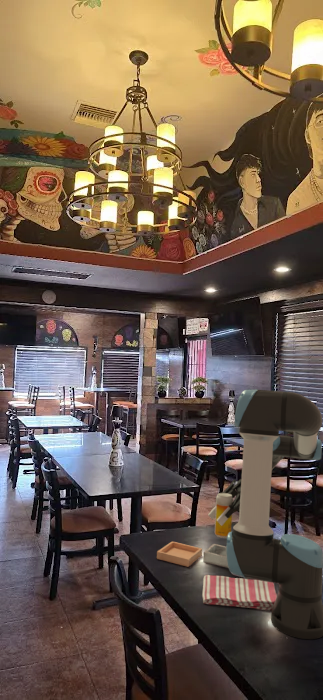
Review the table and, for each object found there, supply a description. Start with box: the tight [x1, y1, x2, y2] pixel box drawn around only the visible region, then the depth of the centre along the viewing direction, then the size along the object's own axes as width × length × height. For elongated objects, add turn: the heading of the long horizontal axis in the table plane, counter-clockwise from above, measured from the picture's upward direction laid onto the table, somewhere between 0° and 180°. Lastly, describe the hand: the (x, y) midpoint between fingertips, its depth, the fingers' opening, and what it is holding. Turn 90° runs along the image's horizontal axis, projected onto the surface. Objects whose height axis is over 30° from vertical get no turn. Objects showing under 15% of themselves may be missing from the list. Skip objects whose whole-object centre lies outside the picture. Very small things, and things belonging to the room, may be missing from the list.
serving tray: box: [156, 541, 203, 568], centre depth 178 cm, size 13×13×2 cm
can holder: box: [202, 543, 229, 569], centre depth 177 cm, size 10×10×4 cm
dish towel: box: [201, 574, 278, 611], centre depth 151 cm, size 17×23×4 cm
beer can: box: [214, 492, 234, 539], centre depth 178 cm, size 6×6×15 cm
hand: (214, 520), depth 176 cm, fingers closed on beer can, 6 cm apart
